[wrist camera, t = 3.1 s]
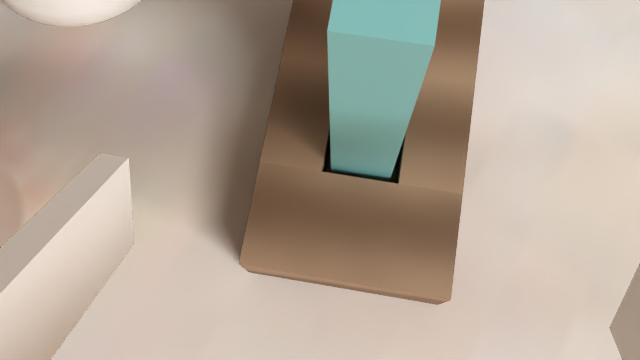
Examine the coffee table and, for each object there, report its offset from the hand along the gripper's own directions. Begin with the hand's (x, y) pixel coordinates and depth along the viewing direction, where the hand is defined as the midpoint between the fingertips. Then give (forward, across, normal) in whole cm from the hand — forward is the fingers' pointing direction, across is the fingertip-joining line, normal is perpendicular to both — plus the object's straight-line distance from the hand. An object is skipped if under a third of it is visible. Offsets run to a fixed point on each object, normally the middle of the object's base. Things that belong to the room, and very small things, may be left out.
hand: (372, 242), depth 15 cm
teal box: (+17, -1, -5) cm, 18 cm away
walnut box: (+17, -1, -6) cm, 18 cm away
